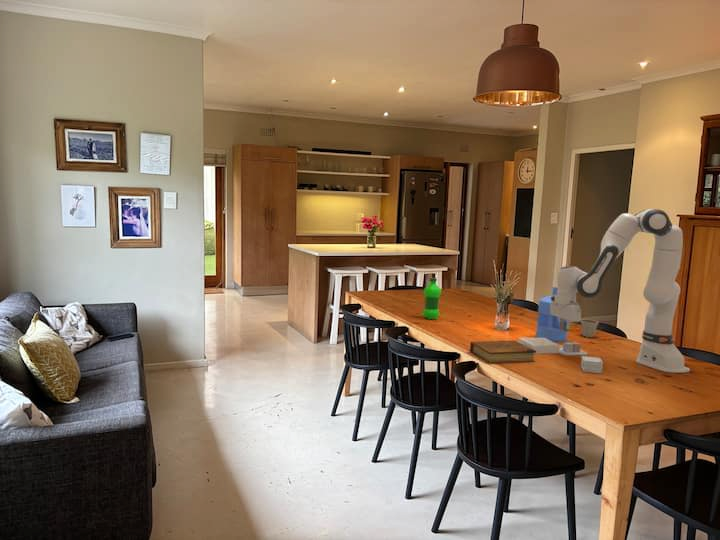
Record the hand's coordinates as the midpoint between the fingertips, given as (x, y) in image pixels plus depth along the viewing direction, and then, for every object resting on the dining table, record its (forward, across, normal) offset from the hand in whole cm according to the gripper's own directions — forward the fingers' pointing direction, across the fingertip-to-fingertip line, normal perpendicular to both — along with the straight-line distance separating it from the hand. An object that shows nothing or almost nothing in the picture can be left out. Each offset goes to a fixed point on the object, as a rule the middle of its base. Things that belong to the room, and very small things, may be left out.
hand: (564, 327), depth 253 cm
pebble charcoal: (+1, 0, 0) cm, 1 cm away
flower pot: (+12, +31, -36) cm, 49 cm away
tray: (+12, +1, -3) cm, 13 cm away
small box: (+13, -26, +4) cm, 30 cm away
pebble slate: (+12, +1, -3) cm, 12 cm away
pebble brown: (+12, +1, -7) cm, 14 cm away
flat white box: (+12, +5, +10) cm, 17 cm away
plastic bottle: (+10, +77, +40) cm, 87 cm away
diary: (+12, -4, +34) cm, 37 cm away
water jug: (+12, +26, -10) cm, 30 cm away
